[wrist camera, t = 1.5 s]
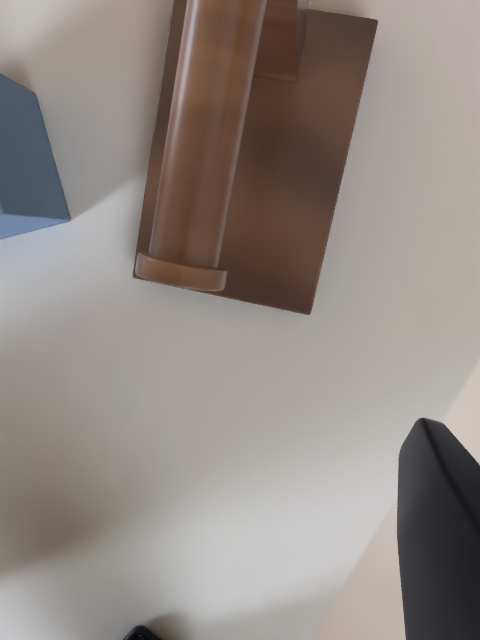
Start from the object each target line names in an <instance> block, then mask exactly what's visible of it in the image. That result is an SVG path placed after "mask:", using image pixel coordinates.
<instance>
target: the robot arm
mask: <svg viewBox="0 0 480 640" xmlns="http://www.w3.org/2000/svg"><path fill="white" fill-rule="evenodd" d="M397 541H398V555H399V566H400V577H401V587H402V599H403V610H404V622H405V633H406V640H480V465H479V464H478V463H477V461H476V460H475V459H474V458H473V457H472V456H471V455H470V453H469V452H468V451H467V450H466V449H465V448H464V447H463V445H462V444H461V443H460V442H459V441H458V440H457V438H456V437H455V436H454V435H453V434H452V433H451V432H450V430H449V429H448V428H447V427H446V426H445V425H444V424H443V423H441V422H438V421H434V420H431V419H427V418H419V419H418V420H417V421H416V422H415V424H414V426H413V428H412V429H411V431H410V433H409V434H408V436H407V438H406V440H405V441H404V443H403V445H402V447H401V449H400V453H399V470H398V508H397ZM139 635H140V636H139ZM123 640H160V639H159V638H158V637H156V636H155V635H154V634H153V633H151V632H150V631H149V630H148V629H146V628H145V627H143V626H136V627H135V628H134V629H133V630H132V631H131V632H130V633H129V634H128V635H127V636H126V637H125V638H124V639H123Z"/></svg>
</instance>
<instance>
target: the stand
mask: <svg viewBox="0 0 480 640" xmlns="http://www.w3.org/2000/svg"><path fill="white" fill-rule="evenodd" d="M307 7H308V0H173V3H172V10H171V17H170V24H169V31H168V37H167V44H166V51H165V58H164V65H163V72H162V79H161V85H160V92H159V99H158V106H157V113H156V120H155V126H154V133H153V140H152V147H151V154H150V161H149V167H148V174H147V181H146V188H145V195H144V202H143V209H142V215H141V222H140V229H139V236H138V243H137V250H136V256H135V263H134V270H133V278H136V279H141V280H146V281H150V282H155V283H160V284H165V285H169V286H174V287H179V288H183V289H188V290H193V291H198V292H202V293H207V294H212V295H216V296H221V297H226V298H230V299H235V300H240V301H245V302H249V303H254V304H259V305H263V306H268V307H273V308H278V309H282V310H287V311H292V312H296V313H301V314H306V315H310V314H311V310H312V305H313V301H314V297H315V293H316V288H317V284H318V280H319V275H320V271H321V267H322V262H323V258H324V254H325V249H326V245H327V241H328V236H329V232H330V228H331V223H332V219H333V215H334V210H335V206H336V202H337V197H338V193H339V189H340V185H341V180H342V176H343V172H344V167H345V163H346V159H347V154H348V150H349V146H350V141H351V137H352V133H353V128H354V124H355V120H356V115H357V111H358V107H359V102H360V98H361V94H362V90H363V85H364V81H365V77H366V72H367V68H368V64H369V59H370V55H371V51H372V46H373V42H374V38H375V33H376V29H377V25H378V20H375V19H369V18H362V17H356V16H349V15H343V14H336V13H330V12H323V11H317V10H310V9H307Z"/></svg>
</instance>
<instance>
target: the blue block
mask: <svg viewBox="0 0 480 640" xmlns="http://www.w3.org/2000/svg"><path fill="white" fill-rule="evenodd" d="M68 221H70V216H69V212H68V209H67V205H66V202H65V198H64V194H63V191H62V187H61V184H60V180H59V177H58V173H57V169H56V166H55V162H54V159H53V155H52V151H51V148H50V144H49V141H48V137H47V133H46V130H45V126H44V123H43V119H42V115H41V112H40V108H39V105H38V101H37V97H36V94H35V93H33V92H31V91H30V90H28V89H26V88H25V87H23V86H21V85H19V84H18V83H16V82H14V81H13V80H11V79H9V78H7V77H6V76H4V75H2V74H1V73H0V239H2V238H6V237H10V236H14V235H18V234H22V233H26V232H30V231H33V230H37V229H41V228H45V227H49V226H53V225H57V224H61V223H64V222H68Z"/></svg>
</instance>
